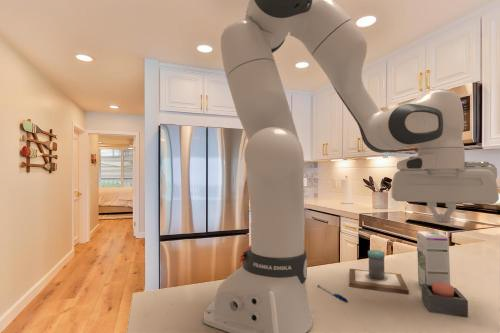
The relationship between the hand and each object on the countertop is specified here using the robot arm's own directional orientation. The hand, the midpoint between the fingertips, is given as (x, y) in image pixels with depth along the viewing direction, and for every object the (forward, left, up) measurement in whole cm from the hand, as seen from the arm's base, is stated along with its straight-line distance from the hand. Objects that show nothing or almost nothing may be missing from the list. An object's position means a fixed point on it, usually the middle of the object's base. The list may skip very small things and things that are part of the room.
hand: (441, 222), depth 63 cm
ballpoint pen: (-24, -1, -20) cm, 31 cm away
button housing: (0, 0, -19) cm, 19 cm away
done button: (0, 0, -17) cm, 17 cm away
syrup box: (+1, +11, -19) cm, 22 cm away
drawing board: (-13, +11, -19) cm, 26 cm away
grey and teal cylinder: (-13, +11, -18) cm, 25 cm away
